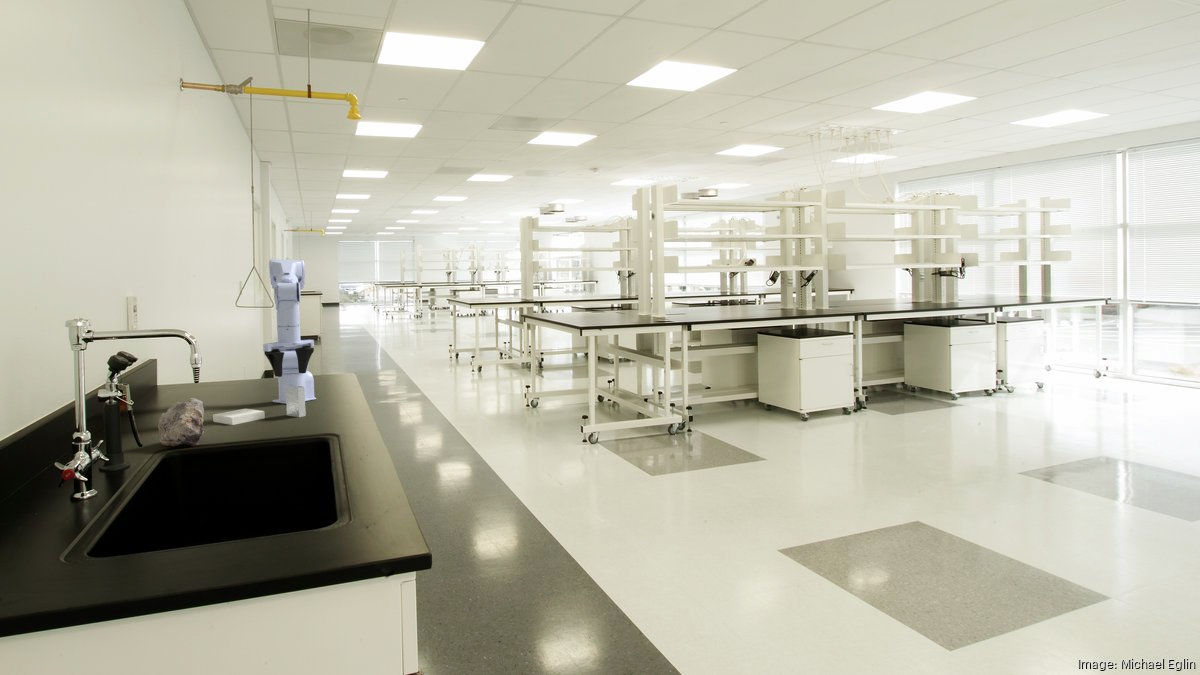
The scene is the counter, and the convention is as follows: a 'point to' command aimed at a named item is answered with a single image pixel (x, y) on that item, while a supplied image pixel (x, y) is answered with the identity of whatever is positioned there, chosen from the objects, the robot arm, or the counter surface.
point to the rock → (182, 423)
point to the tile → (238, 416)
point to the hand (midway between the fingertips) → (290, 374)
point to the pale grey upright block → (295, 401)
